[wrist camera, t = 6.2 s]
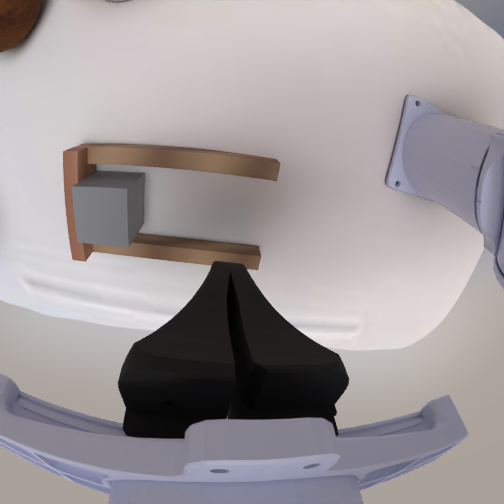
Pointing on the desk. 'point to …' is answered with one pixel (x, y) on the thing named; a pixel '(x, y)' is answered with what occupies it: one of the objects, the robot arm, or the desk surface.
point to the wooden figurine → (16, 20)
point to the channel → (88, 155)
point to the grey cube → (109, 208)
